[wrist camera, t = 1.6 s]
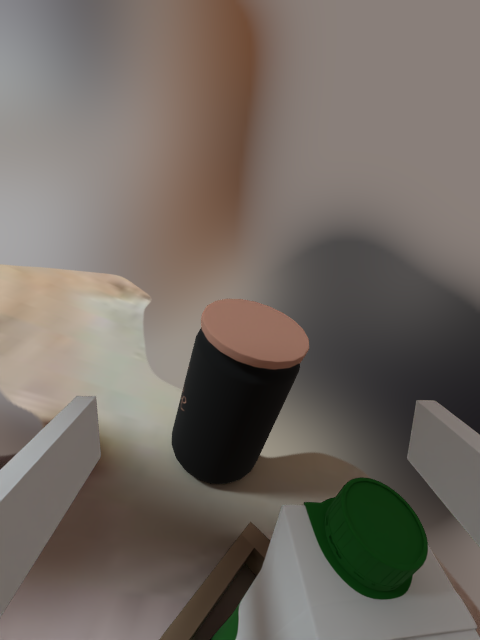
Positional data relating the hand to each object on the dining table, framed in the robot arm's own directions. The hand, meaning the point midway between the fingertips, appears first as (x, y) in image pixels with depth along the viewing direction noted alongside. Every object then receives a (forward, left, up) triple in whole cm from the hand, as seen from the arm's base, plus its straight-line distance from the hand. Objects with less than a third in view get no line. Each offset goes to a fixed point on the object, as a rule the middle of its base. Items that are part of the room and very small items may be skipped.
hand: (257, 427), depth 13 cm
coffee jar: (-9, +15, -23) cm, 29 cm away
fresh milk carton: (+8, +2, -23) cm, 24 cm away
